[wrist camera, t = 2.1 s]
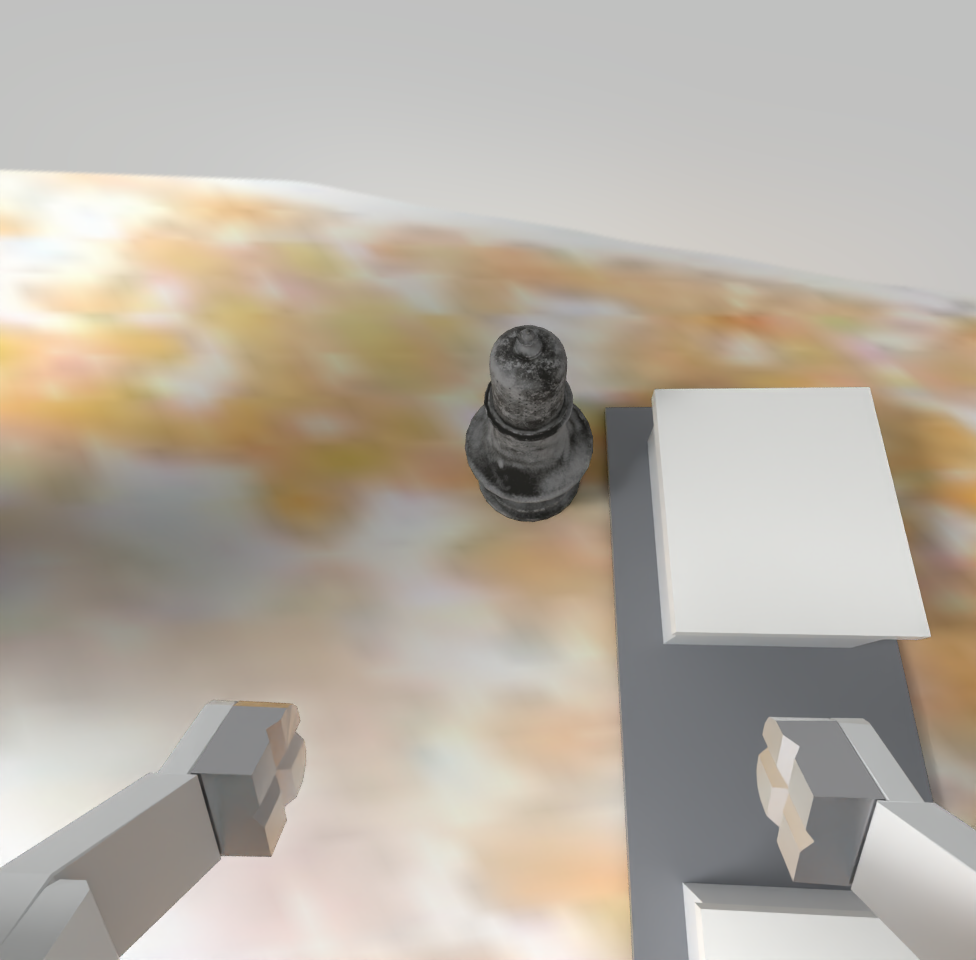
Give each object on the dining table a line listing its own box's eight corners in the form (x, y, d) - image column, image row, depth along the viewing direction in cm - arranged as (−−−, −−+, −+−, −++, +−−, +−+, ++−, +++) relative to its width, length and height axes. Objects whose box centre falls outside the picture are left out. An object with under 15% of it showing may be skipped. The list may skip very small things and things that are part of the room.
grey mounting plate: (650, 1315, 19) (690, 1510, 15) (604, 412, 32) (618, 354, 27) (1047, 1354, 19) (1231, 1576, 14) (839, 410, 31) (897, 351, 26)
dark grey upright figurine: (561, 407, 32) (576, 240, 21) (605, 504, 30) (647, 372, 19) (457, 443, 32) (418, 290, 21) (493, 543, 30) (471, 432, 19)
